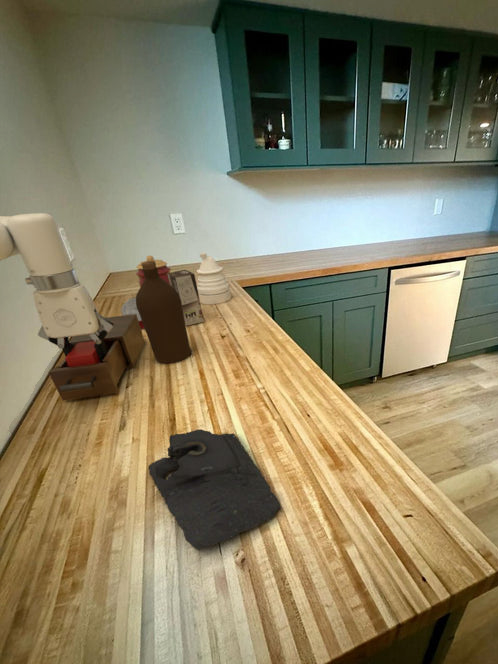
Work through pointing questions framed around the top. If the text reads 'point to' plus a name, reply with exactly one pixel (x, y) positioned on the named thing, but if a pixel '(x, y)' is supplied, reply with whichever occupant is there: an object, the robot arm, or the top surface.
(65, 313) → the robot arm
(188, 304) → the coffee box
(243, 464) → the folded black cloth
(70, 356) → the red block
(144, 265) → the olive oil
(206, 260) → the honey pot
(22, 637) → the top surface
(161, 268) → the kitchen canister
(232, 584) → the top surface
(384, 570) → the top surface
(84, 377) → the drawer
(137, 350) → the cabinet
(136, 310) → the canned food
